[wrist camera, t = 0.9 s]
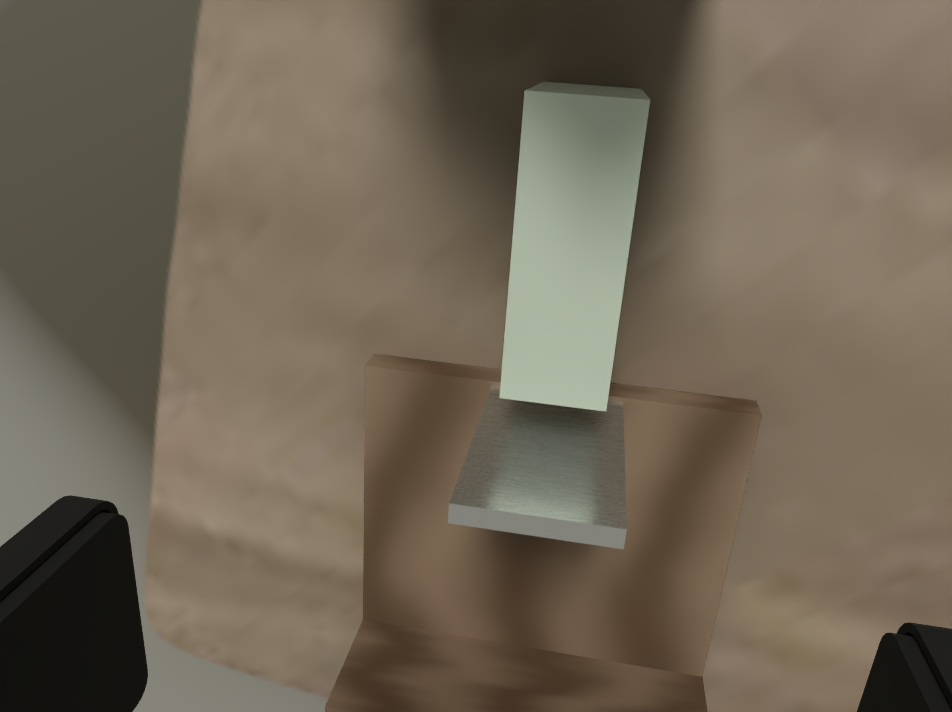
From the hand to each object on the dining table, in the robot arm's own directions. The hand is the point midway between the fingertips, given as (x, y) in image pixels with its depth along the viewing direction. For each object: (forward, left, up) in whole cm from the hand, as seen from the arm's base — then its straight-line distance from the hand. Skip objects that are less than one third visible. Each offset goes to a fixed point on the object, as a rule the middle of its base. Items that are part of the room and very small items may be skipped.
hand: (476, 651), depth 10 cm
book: (0, 0, -26) cm, 26 cm away
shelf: (0, +15, -26) cm, 30 cm away
